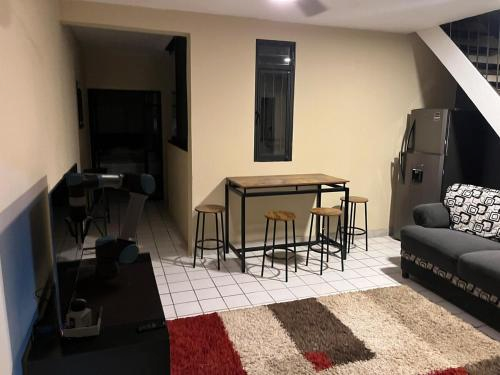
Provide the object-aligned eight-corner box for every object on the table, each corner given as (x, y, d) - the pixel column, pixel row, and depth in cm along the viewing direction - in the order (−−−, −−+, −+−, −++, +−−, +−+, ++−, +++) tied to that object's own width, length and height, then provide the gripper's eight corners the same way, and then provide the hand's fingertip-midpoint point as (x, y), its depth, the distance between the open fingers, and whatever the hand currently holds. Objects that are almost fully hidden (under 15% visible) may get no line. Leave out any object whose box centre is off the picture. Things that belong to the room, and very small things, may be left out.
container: (82, 332, 177) (80, 306, 174) (66, 330, 178) (65, 304, 175) (92, 323, 184) (90, 298, 181) (77, 321, 185) (75, 296, 183)
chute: (70, 311, 194) (70, 304, 193) (102, 308, 198) (102, 301, 197) (62, 339, 171) (61, 330, 170) (98, 334, 175) (98, 326, 175)
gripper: (62, 206, 191) (65, 252, 195) (91, 205, 194) (93, 250, 199) (64, 203, 198) (67, 247, 202) (92, 202, 201) (94, 245, 206)
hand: (80, 249), depth 201 cm, fingers closed
